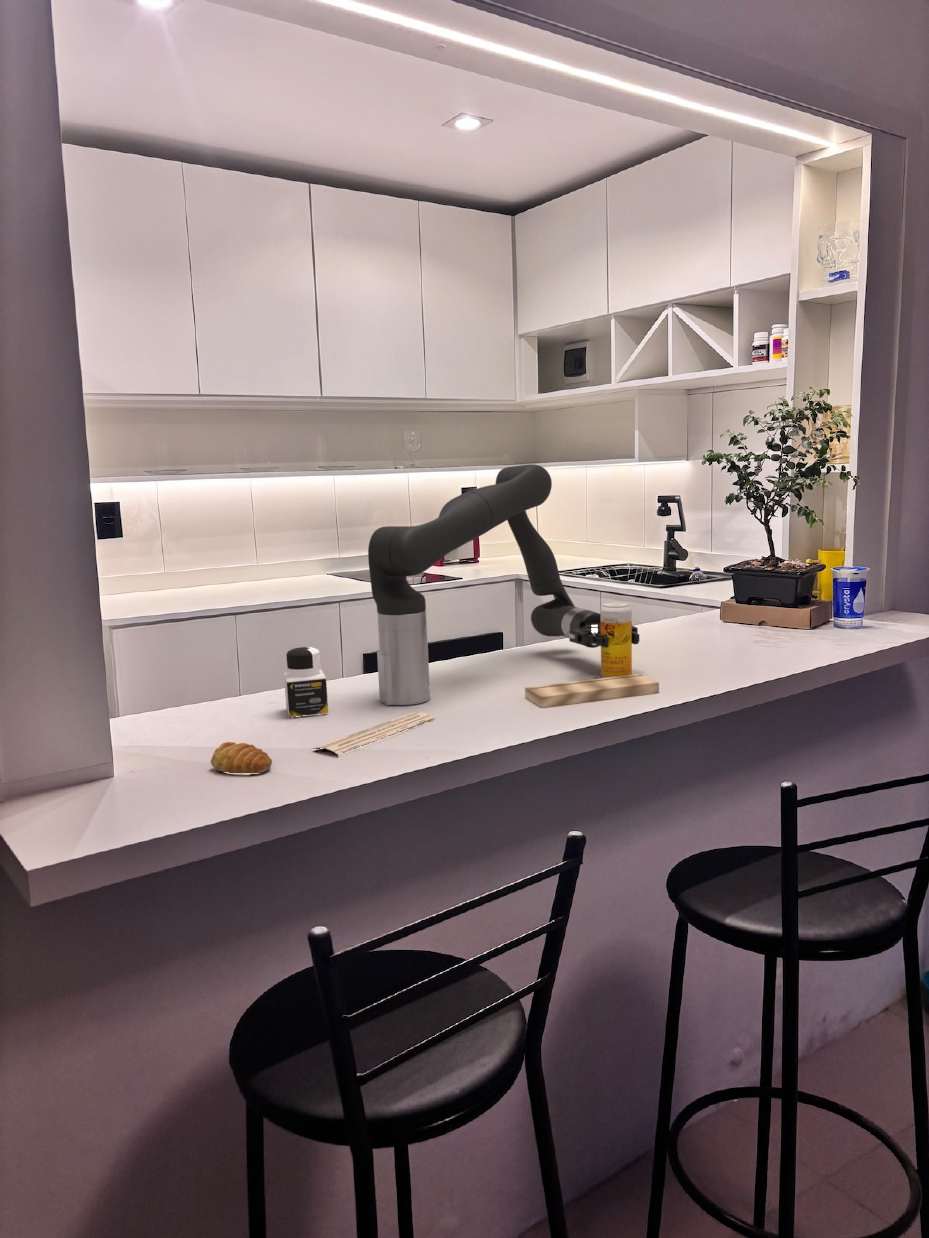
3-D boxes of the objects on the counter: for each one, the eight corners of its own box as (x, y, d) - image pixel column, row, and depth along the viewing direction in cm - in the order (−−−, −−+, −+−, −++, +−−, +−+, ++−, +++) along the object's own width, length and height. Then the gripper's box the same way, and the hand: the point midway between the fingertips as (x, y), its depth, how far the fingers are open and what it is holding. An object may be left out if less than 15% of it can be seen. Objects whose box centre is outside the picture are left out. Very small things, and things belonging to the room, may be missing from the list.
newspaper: (338, 761, 137) (337, 750, 137) (307, 754, 141) (306, 743, 141) (435, 724, 155) (434, 714, 155) (404, 718, 160) (404, 709, 159)
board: (541, 707, 160) (541, 696, 160) (525, 697, 168) (525, 687, 168) (658, 692, 168) (658, 681, 167) (638, 683, 175) (638, 673, 175)
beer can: (597, 679, 177) (596, 605, 174) (606, 673, 182) (606, 601, 180) (626, 682, 174) (626, 607, 172) (635, 675, 179) (635, 602, 177)
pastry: (283, 767, 134) (281, 743, 133) (251, 782, 128) (249, 756, 128) (238, 759, 139) (236, 735, 138) (206, 772, 133) (203, 748, 132)
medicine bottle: (289, 718, 160) (284, 654, 158) (286, 709, 167) (281, 647, 165) (328, 714, 162) (324, 650, 160) (324, 705, 169) (320, 643, 167)
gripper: (553, 612, 187) (588, 625, 172) (614, 607, 192) (654, 618, 176) (554, 647, 189) (589, 663, 173) (615, 641, 193) (654, 655, 177)
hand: (622, 640), depth 175 cm, fingers closed on beer can, 6 cm apart
